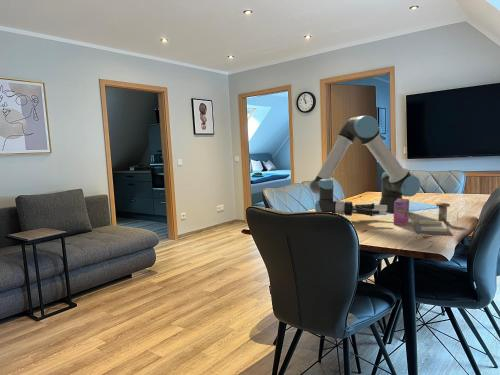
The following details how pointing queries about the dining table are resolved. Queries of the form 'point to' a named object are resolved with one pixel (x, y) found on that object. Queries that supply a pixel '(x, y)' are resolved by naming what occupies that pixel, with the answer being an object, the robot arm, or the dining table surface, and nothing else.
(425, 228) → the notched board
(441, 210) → the bobbin
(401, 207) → the box
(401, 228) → the dining table surface
